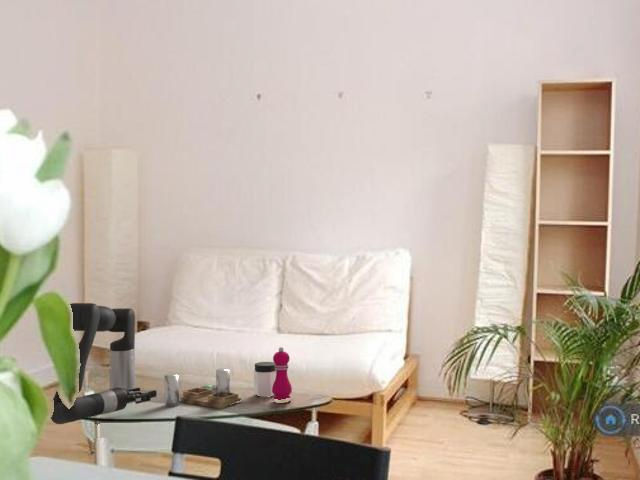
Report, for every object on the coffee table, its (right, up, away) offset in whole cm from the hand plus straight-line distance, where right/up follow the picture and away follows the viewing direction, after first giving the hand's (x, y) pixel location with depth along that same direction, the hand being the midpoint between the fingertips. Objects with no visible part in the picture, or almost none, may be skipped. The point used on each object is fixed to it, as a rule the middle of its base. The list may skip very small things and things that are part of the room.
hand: (147, 391), depth 250 cm
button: (+17, -6, +26) cm, 32 cm away
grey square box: (+17, -6, +26) cm, 32 cm away
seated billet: (+25, -5, +9) cm, 27 cm away
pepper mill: (+46, -6, +11) cm, 48 cm away
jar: (+40, -6, +22) cm, 46 cm away
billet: (+7, -7, +9) cm, 13 cm away
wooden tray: (+20, -7, +13) cm, 25 cm away
